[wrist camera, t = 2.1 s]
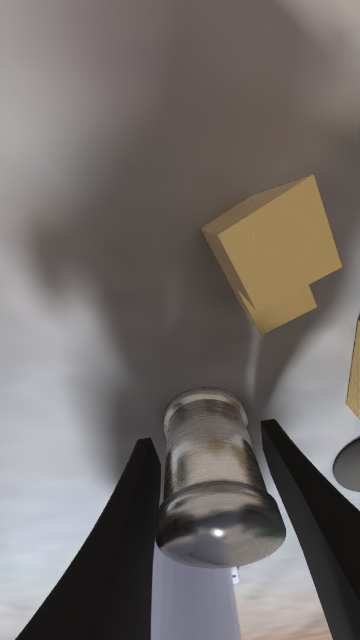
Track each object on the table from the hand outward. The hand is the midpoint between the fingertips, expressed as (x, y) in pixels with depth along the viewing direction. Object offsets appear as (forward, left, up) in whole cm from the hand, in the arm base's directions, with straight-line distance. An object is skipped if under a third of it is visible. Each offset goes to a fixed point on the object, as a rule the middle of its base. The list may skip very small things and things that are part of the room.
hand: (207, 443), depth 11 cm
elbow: (+8, -3, -2) cm, 9 cm away
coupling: (0, 0, -1) cm, 1 cm away
